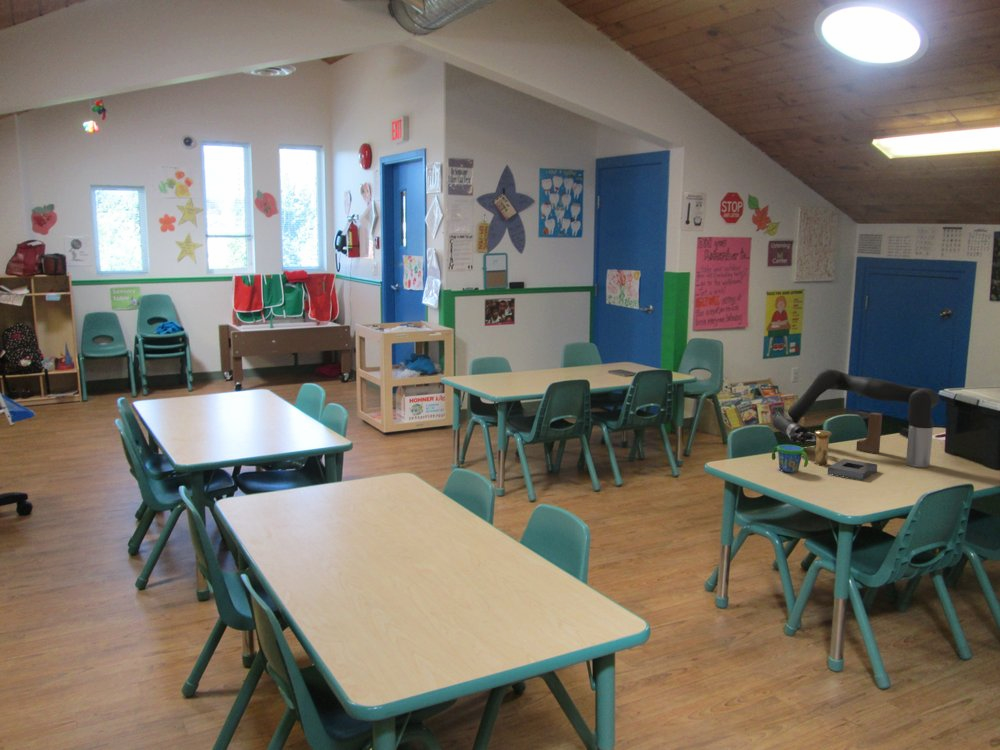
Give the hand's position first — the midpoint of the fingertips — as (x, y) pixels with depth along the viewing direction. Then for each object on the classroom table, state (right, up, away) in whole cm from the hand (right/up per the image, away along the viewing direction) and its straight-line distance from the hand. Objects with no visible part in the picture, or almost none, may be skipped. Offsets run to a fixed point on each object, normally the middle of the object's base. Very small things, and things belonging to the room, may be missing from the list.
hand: (812, 441), depth 374 cm
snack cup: (-17, -11, -19) cm, 28 cm away
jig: (+9, -12, -21) cm, 26 cm away
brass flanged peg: (+1, -9, -8) cm, 12 cm away
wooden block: (+30, -6, +14) cm, 34 cm away
